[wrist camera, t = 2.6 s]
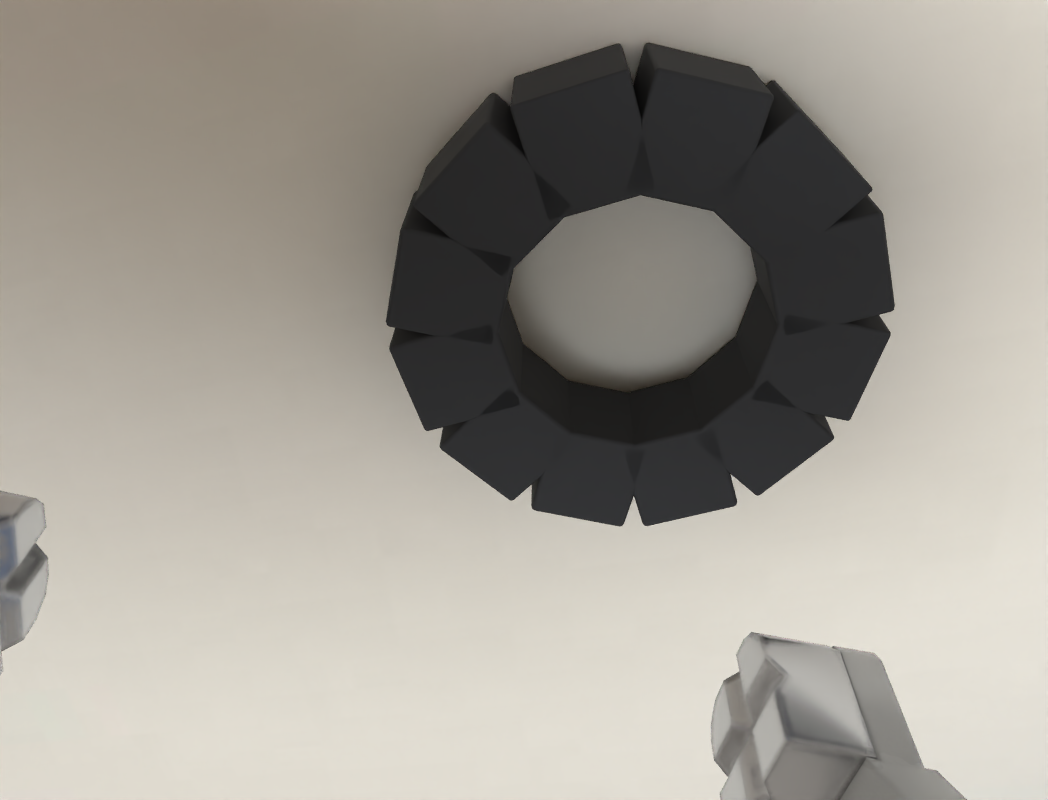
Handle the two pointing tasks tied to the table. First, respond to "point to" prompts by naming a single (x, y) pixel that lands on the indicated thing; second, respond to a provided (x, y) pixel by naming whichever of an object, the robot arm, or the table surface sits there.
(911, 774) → the robot arm
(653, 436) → the ring
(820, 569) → the table surface
